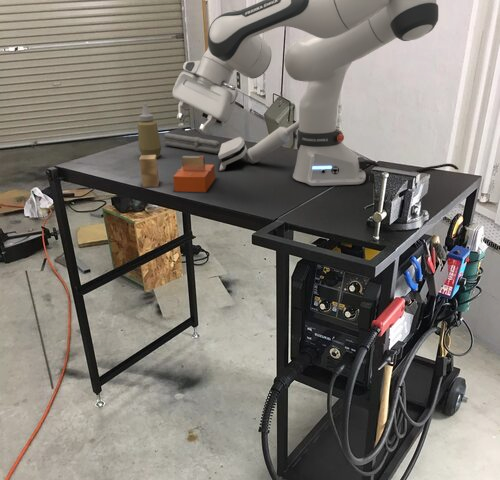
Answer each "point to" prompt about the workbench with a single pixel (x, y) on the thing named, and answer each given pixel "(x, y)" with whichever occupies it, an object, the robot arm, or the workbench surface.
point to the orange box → (194, 180)
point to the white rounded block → (231, 151)
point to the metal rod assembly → (196, 140)
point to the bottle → (270, 143)
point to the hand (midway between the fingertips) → (191, 126)
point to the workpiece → (149, 170)
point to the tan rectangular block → (193, 163)
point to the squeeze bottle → (148, 134)
